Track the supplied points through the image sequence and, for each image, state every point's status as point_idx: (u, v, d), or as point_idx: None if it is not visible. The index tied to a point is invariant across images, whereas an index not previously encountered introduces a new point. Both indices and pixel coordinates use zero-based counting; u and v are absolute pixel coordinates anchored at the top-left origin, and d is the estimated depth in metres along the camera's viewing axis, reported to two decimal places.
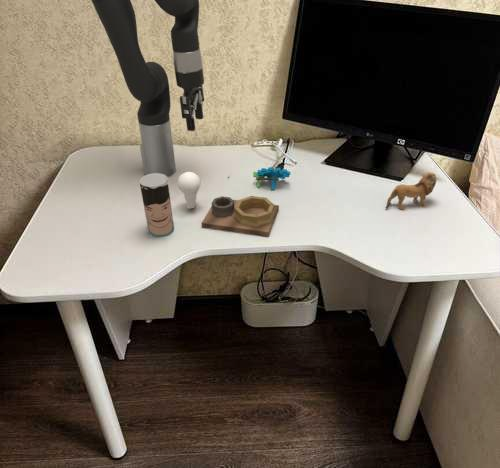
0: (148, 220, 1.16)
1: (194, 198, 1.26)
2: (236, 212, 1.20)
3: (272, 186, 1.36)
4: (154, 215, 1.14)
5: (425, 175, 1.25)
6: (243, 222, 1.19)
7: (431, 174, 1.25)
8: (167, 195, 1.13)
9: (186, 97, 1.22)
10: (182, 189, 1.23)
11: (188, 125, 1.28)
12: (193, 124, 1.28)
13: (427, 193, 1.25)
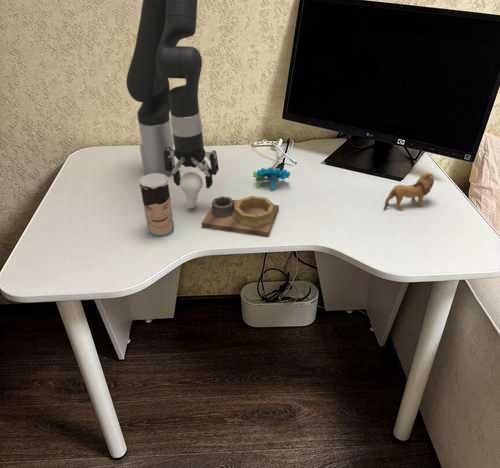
0: (148, 220, 1.16)
1: (195, 198, 1.26)
2: (236, 212, 1.20)
3: (271, 186, 1.36)
4: (154, 215, 1.14)
5: (423, 175, 1.25)
6: (243, 222, 1.19)
7: (429, 174, 1.25)
8: (167, 195, 1.13)
9: (214, 151, 1.19)
10: (184, 189, 1.23)
11: (211, 181, 1.23)
12: None
13: (425, 193, 1.25)
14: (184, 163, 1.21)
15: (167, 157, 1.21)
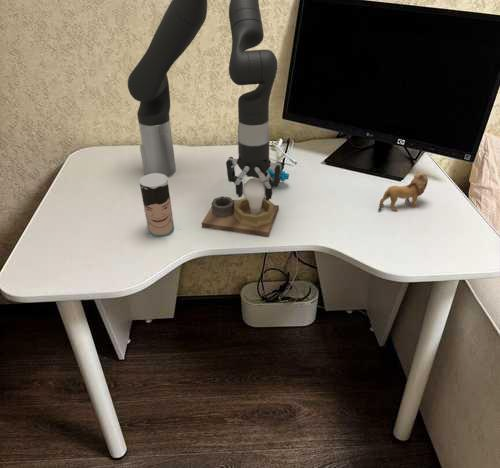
0: (148, 220, 1.16)
1: (260, 205, 1.20)
2: (236, 212, 1.20)
3: None
4: (154, 215, 1.14)
5: (416, 176, 1.25)
6: (243, 222, 1.19)
7: (423, 175, 1.25)
8: (167, 195, 1.13)
9: (280, 163, 1.13)
10: (249, 196, 1.16)
11: (271, 194, 1.17)
12: None
13: (419, 194, 1.25)
14: (248, 173, 1.14)
15: (230, 167, 1.15)
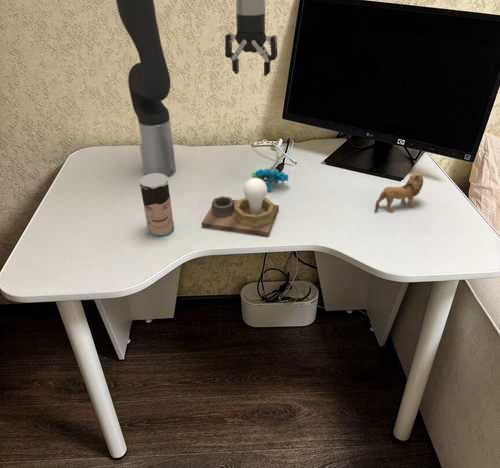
0: (148, 220, 1.16)
1: (260, 206, 1.20)
2: (236, 212, 1.20)
3: (269, 188, 1.35)
4: (154, 215, 1.14)
5: (412, 176, 1.25)
6: (243, 222, 1.19)
7: (418, 175, 1.24)
8: (167, 195, 1.13)
9: (275, 36, 1.23)
10: (249, 196, 1.16)
11: (269, 68, 1.27)
12: None
13: (415, 194, 1.25)
14: (245, 48, 1.25)
15: (228, 41, 1.25)
